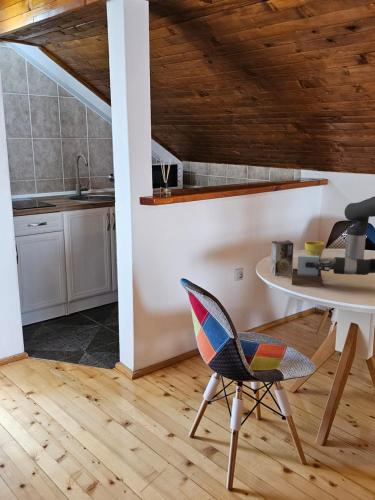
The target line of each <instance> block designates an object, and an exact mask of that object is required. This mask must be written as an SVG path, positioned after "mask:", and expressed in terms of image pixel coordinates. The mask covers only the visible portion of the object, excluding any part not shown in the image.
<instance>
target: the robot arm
mask: <svg viewBox="0 0 375 500" xmlns="http://www.w3.org/2000/svg"><path fill="white" fill-rule="evenodd" d="M344 217H345V218H346V220H348V221H350V222H356V223H355V224H353V225H352V226H348V228H347V229H346V243H345V252H344V254H345V255H344V257H341V256H340V257H339V256H335V257H334V258H333V260H331V259H329V258H321V259H319V263H309V262H306V266H305V267H307V268H314V269H316V270H321V272H322V271H323V272H330V270H333V274H335V275H348V276H349V275H352V276H353V275H357V276H358V275H359V276H368V275H369V274H375V258H369V259H365V250H366V249H365V247H366V239H367V238H366V236H367V230H368V225H369V219H370V218H372V217H375V196H371V197H369V198H367V199H364V200H361V201H359V202H350V203H348V204H347V205H346V207H345V209H344Z"/></svg>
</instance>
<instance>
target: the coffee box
mask: <svg viewBox="0 0 375 500" xmlns="http://www.w3.org/2000/svg"><path fill="white" fill-rule="evenodd" d="M270 253H271V254H270V255H271V256H270V258H271V260H270V273H271V274H272V275H273V276H274V277H277V276H278V277H279V276H292V271H293V263H294V262H293V260H294V243H293V242H292V241H291V240H288V239H287V240H272V241H271V252H270Z"/></svg>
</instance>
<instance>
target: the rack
mask: <svg viewBox="0 0 375 500" xmlns="http://www.w3.org/2000/svg"><path fill="white" fill-rule="evenodd" d="M297 270H298V268H292V275H291V285H293V286H294V285H295V286H308V287H322V282H323V281H322V278H323V277H322V271H321V270H318V276H306V275H297Z"/></svg>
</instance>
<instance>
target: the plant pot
mask: <svg viewBox="0 0 375 500" xmlns="http://www.w3.org/2000/svg"><path fill="white" fill-rule="evenodd" d="M325 244H326V243H324V242H321V241H316V240H315V241H313V240H312V241H311V240H310V241H305V242H304V249H305V252H306V255H311V256H319V259H322V255H323V252H324V250H325Z"/></svg>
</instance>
